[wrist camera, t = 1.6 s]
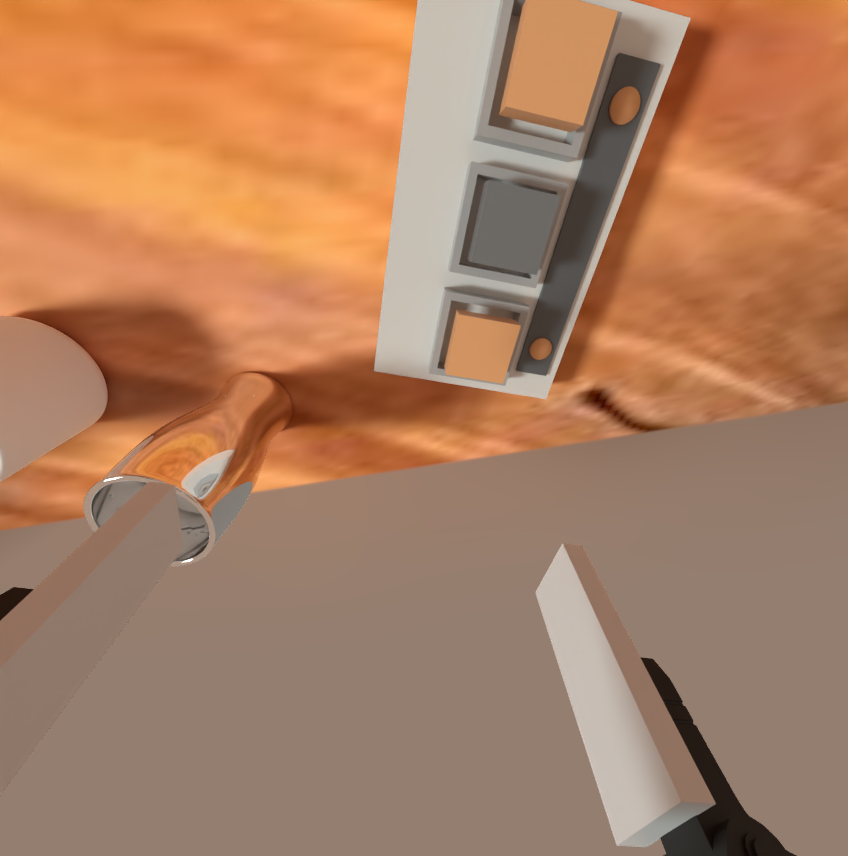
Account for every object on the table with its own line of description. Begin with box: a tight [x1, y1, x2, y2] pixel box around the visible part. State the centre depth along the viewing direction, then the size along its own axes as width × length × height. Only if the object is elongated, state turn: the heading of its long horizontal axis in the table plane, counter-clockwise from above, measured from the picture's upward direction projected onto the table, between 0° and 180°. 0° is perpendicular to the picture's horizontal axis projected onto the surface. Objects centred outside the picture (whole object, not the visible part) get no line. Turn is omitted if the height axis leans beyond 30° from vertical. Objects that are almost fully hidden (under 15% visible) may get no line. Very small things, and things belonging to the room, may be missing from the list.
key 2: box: [499, 0, 618, 132], centre depth 17 cm, size 4×4×2 cm
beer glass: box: [84, 372, 292, 566], centre depth 26 cm, size 7×7×15 cm
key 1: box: [444, 309, 521, 384], centre depth 24 cm, size 4×4×2 cm
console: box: [374, 0, 691, 399], centre depth 24 cm, size 22×14×4 cm, turn 170°
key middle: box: [468, 180, 561, 275], centre depth 21 cm, size 4×4×2 cm
